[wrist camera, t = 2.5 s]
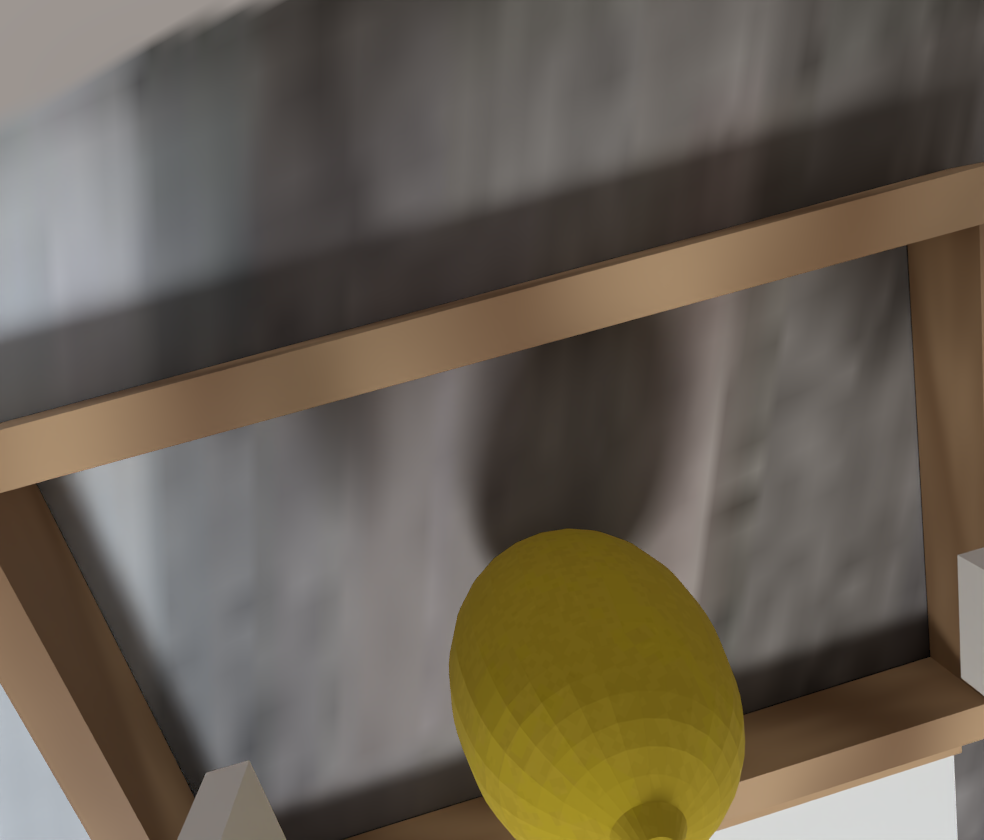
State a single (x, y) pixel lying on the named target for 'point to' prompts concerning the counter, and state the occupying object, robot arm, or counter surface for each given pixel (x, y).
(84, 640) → the wooden frame
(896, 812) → the lid
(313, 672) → the counter surface
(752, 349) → the counter surface
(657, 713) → the lemon
